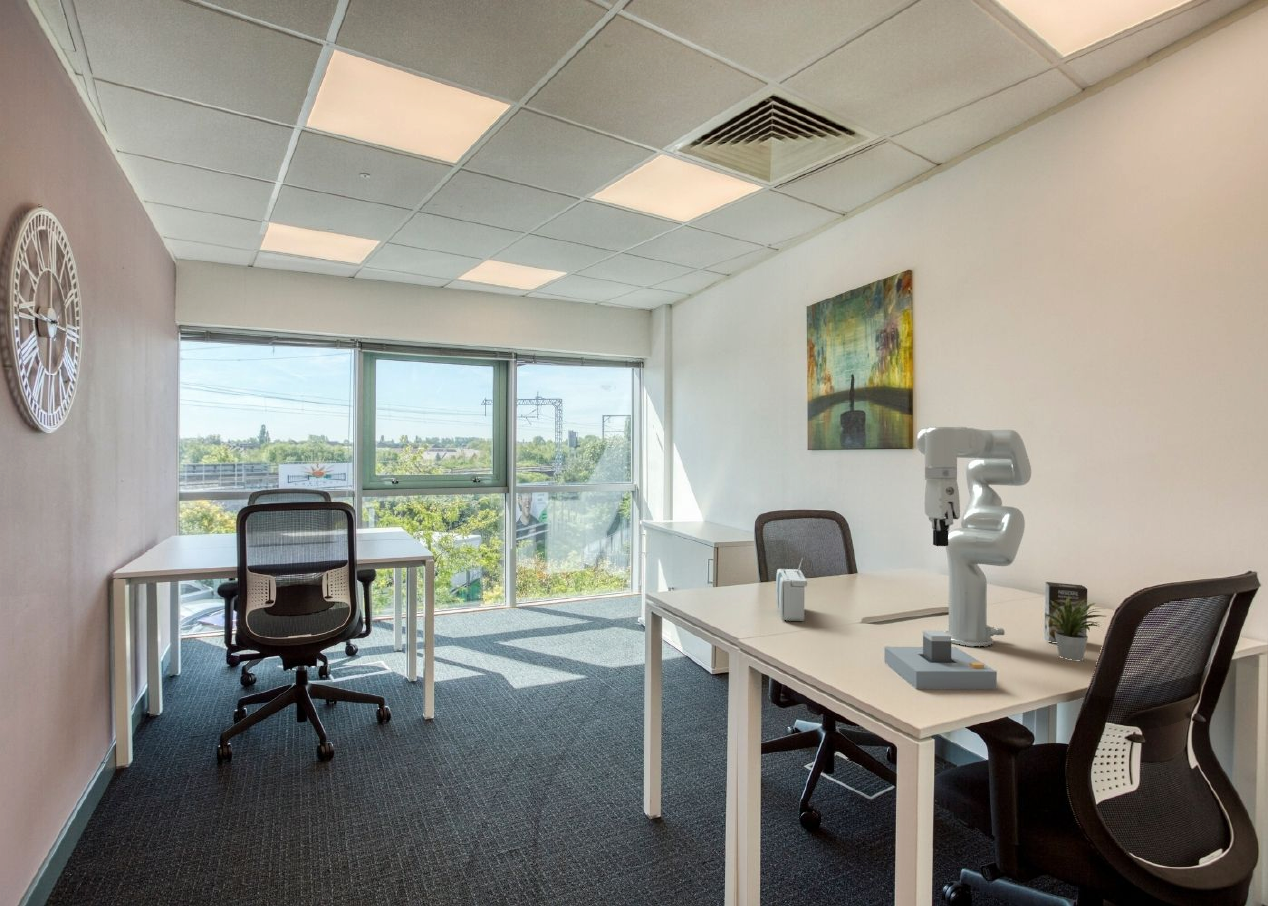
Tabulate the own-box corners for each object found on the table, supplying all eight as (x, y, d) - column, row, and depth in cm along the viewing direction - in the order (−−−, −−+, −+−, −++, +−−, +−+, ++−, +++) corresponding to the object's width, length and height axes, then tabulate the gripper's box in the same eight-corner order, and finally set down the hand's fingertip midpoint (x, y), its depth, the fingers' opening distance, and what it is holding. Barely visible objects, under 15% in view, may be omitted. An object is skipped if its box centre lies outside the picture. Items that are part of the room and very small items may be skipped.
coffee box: (1047, 643, 177) (1048, 585, 177) (1044, 637, 183) (1044, 581, 183) (1087, 647, 174) (1087, 588, 174) (1082, 641, 179) (1082, 584, 179)
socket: (955, 662, 160) (955, 643, 160) (996, 689, 142) (996, 668, 142) (884, 662, 160) (884, 643, 160) (916, 689, 142) (916, 667, 142)
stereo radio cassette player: (775, 606, 219) (776, 548, 219) (800, 607, 218) (800, 548, 218) (780, 622, 199) (780, 558, 199) (807, 623, 197) (807, 559, 197)
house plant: (1080, 671, 154) (1080, 604, 154) (1025, 654, 167) (1025, 592, 167) (1116, 664, 160) (1116, 599, 160) (1060, 648, 173) (1061, 588, 173)
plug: (942, 672, 154) (942, 630, 154) (951, 678, 149) (951, 636, 149) (922, 671, 154) (923, 630, 154) (931, 678, 149) (931, 636, 149)
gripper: (970, 475, 157) (970, 550, 157) (941, 473, 172) (941, 541, 172) (940, 475, 157) (940, 550, 157) (913, 473, 172) (913, 541, 172)
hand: (940, 545), depth 164 cm, fingers closed
